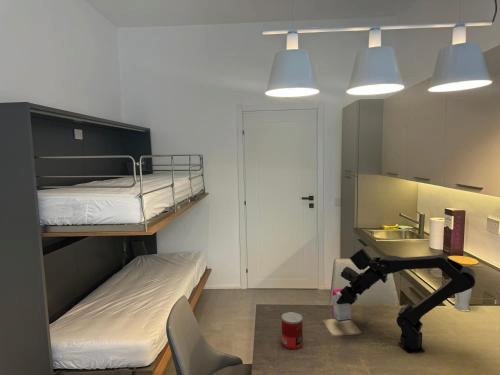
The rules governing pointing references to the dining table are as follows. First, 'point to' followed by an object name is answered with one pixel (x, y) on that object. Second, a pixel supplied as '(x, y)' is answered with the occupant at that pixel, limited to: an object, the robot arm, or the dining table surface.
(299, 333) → the canned food
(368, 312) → the dining table surface
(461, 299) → the beer glass
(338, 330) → the oak board
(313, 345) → the dining table surface
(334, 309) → the supplement box
